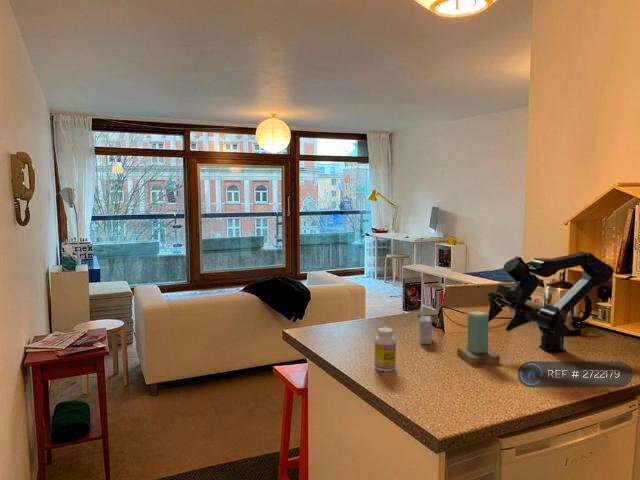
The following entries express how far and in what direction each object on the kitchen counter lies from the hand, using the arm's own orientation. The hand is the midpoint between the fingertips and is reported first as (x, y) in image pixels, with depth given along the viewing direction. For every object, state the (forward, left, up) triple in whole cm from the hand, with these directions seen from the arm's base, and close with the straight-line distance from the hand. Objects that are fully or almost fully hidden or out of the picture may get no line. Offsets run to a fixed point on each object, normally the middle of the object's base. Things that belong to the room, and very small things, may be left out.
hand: (496, 325), depth 158 cm
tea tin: (+7, 0, -8) cm, 11 cm away
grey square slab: (+7, +1, -11) cm, 13 cm away
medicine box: (+17, -20, -11) cm, 29 cm away
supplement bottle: (+40, +3, -11) cm, 42 cm away
